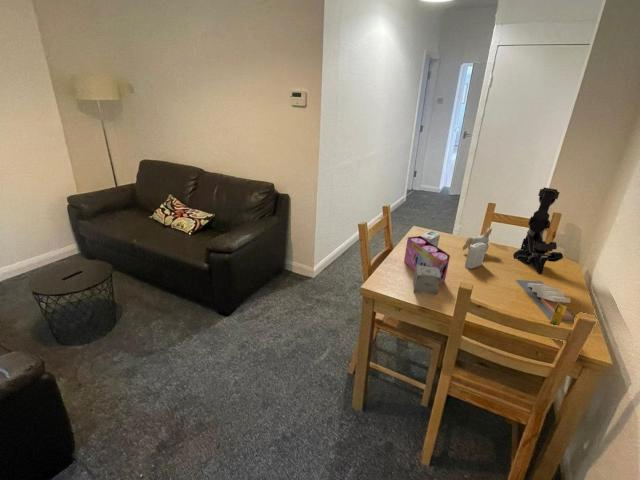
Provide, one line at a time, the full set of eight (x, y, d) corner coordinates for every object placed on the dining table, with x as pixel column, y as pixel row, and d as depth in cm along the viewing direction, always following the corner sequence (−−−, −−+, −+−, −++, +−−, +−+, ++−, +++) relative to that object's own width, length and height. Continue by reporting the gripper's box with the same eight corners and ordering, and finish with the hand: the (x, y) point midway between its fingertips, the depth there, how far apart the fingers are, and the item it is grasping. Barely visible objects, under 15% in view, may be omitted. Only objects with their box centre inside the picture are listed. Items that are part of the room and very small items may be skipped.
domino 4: (541, 297, 141) (557, 315, 130) (556, 299, 141) (573, 316, 130) (540, 300, 142) (555, 318, 131) (555, 302, 141) (571, 320, 130)
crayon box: (554, 337, 121) (565, 311, 116) (545, 333, 123) (555, 307, 118) (558, 328, 126) (568, 302, 121) (548, 324, 128) (559, 299, 123)
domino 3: (536, 292, 145) (554, 297, 133) (551, 293, 144) (570, 298, 132) (536, 296, 145) (554, 301, 133) (551, 297, 144) (570, 302, 132)
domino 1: (527, 282, 152) (543, 286, 140) (541, 284, 152) (558, 287, 140) (527, 286, 152) (543, 290, 140) (541, 287, 152) (558, 291, 140)
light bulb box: (425, 248, 186) (429, 230, 182) (437, 252, 182) (440, 233, 177) (415, 253, 179) (418, 235, 175) (426, 258, 175) (430, 239, 170)
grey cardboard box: (413, 294, 143) (417, 272, 139) (412, 283, 151) (415, 263, 147) (437, 297, 142) (442, 275, 138) (435, 286, 150) (439, 266, 145)
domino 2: (532, 287, 148) (549, 291, 136) (546, 288, 148) (564, 293, 136) (532, 291, 148) (548, 295, 136) (546, 292, 148) (564, 297, 136)
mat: (515, 280, 157) (515, 279, 157) (541, 282, 157) (541, 281, 157) (548, 320, 130) (549, 319, 130) (581, 323, 129) (581, 322, 129)
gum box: (447, 283, 152) (453, 257, 147) (432, 286, 150) (438, 259, 144) (416, 259, 173) (420, 235, 167) (403, 261, 170) (407, 237, 164)
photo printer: (475, 261, 173) (481, 239, 168) (483, 265, 170) (489, 242, 165) (463, 266, 168) (468, 243, 163) (470, 270, 165) (476, 247, 160)
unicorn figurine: (493, 251, 186) (500, 228, 180) (471, 258, 176) (477, 235, 171) (482, 246, 192) (488, 224, 186) (460, 253, 182) (465, 230, 176)
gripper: (523, 233, 147) (528, 267, 141) (568, 236, 145) (574, 270, 140) (511, 241, 157) (514, 274, 152) (552, 244, 156) (557, 277, 150)
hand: (540, 274), depth 148 cm, fingers closed
